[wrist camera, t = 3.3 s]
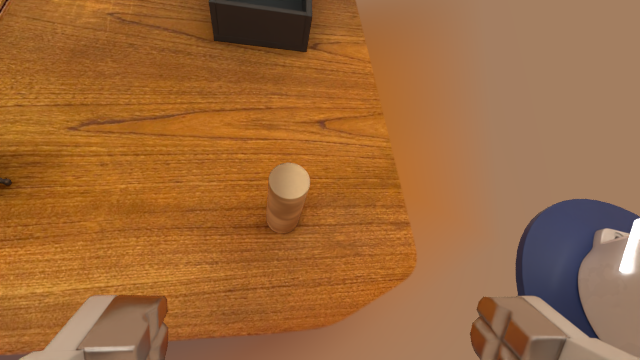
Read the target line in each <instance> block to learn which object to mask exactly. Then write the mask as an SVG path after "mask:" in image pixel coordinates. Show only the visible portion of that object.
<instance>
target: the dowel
mask: <svg viewBox="0 0 640 360" xmlns="http://www.w3.org/2000/svg"><path fill="white" fill-rule="evenodd" d="M309 186H310V178H309V175H308V173H307V172H306V170H305V169H304V168H302V167H301V166H299V165H297V164H294V163H283V164H280V165H278V166H276V167H275V168H274V169H273V170H272V171H271V173H270V176H269V183H268V199H267V214H266V221H267V224H268V226H269V227H270V228H271V229H272V230H273V231H275V232H277V233H288V232H290V231H292V230H293V229H294V228H295V227H296V226H297V224H298V221H299V218H300V215H301V212H302V208H303V205H304V202H305V199H306V196H307V193H308V189H309Z"/></svg>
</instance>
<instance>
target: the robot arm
mask: <svg viewBox="0 0 640 360" xmlns="http://www.w3.org/2000/svg"><path fill="white" fill-rule="evenodd" d="M578 290H579V296H580V300H581V303H582V307H583V309H584V312H585V314H586V317H587V319H588V321H589V323H590V325H591V326H592V328H593V330H594V332H595V333H596V335H597V336H598V338H599V339H600V340H599V339H596V338H589V337H588V336H587V335H586V334H584V333H583V332H582V331H581V330H580V329H578V328H577V327H576V326H575V325H573V324H572V323H571V322H570V321H568V320H567V319H566V318H565V317H563V316H562V315H561V314H560V313H558V312H557V311H556V310H555V309H553V308H552V307H551V306H550V305H548V304H547V303H546V302H545V301H543V300H542V299H541V298H539V297H536V296H516V297H483V298H482V299H481V300H480V301H479V303H478V307H477V311H478V313H479V316H480V317H478V318H477V319H476V320H475V321H474V322H473V324H472V329H471V332H470V335H471V342H472V346H473V348H474V351H475V353H476V354H477V356H478V357H479V358H480V360H640V219H638V220H635V221H634V224H633V227H632V230H631V234H629V233H625V232H621V231H617V230H613V229H608V228H605V229H601V230H597V231H596V232H595V234H594V239H593V247H592V249H591V251H590V252H589V253H588V254H587V255H586V256H585V258H584V259H583V261H582V263H581V265H580V268H579V272H578ZM167 312H168V309H167V299H166V297H165V296H139V295H118V296H117V295H94V296H91V297H89V298H88V299H87V300H86V301H85V302H84V304H83V305H82V306H81V307H80V308H79V309H78V311H77V312H76V313H75V314H74V315H73V316H72V318H71V319H70V320H69V321H68V322H67V323H66V324H65V326H64V327H63V328H62V329H61V330H60V331H59V333H58V334H57V335H56V336H55V337H54V338H53V340H52V341H51V342H50V343H49V344H48V345H47V347H46V348H45V349H44V350H43V351H34V352H32V353H30V354H28V355H26V356H24V357H23V358H21V359H19V360H165V355H166V351H167V346H168V327H167V326H166V324H165V323H164V322H163V321H164V318H165V316H166V314H167Z"/></svg>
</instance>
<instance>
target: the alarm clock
mask: <svg viewBox="0 0 640 360" xmlns="http://www.w3.org/2000/svg"><path fill="white" fill-rule="evenodd" d="M0 183H3V184H4V185H10V184H11V183H12V182H11V180H10V179H2V178H0Z"/></svg>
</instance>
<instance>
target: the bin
mask: <svg viewBox="0 0 640 360" xmlns="http://www.w3.org/2000/svg"><path fill="white" fill-rule="evenodd" d="M209 6H210V13H211V21H212V28H213V35H214V41H222V42H230V43H238V44H246V45H254V46H262V47H270V48H278V49H286V50H294V51H302V52H306V51H307V45H308V39H309V33H310V27H311V21H312V0H209Z"/></svg>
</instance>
